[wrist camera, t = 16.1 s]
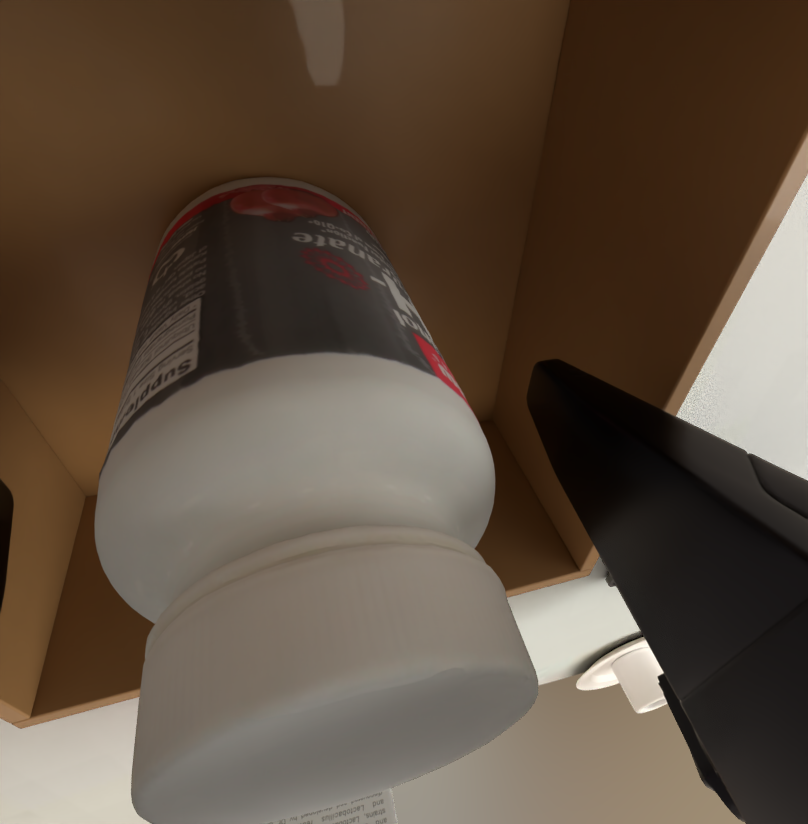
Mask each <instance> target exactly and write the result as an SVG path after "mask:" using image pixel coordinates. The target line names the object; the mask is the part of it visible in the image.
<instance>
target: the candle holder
mask: <svg viewBox="0 0 808 824" xmlns="http://www.w3.org/2000/svg"><path fill="white" fill-rule="evenodd" d="M663 673H664V672H663V671H662V669H661V667H660V665H659V663H658V661H657V660H656V658H655V656H654V654H653V652H652V651H651V649H650V647H649V645H648V643H647V641H646V640H645V638H644V637H641V638H639V639H636V640H633V641H631V642H629V643H627V644H624V645H622V646H620V647H618V648H617V649H615V650H613V651H611V652H610V653H608V654H606V655H605V656H603V657H602V658H600V659H599V660H598V661H596V662H595V663H594V664H593V665H592V666H591V667H590V668H589V669H588V670H587V671H586V672H585V673H584V674H583V675H582V676H581V677H580V678H579V679H578V681H577V683H576V687H577V688H578V689H580V690H594V689H600V688H604V687H608V686H611V685H614V684H617V683H620V685H621V686H622V689H623V690H624V692H625V694H626V696H627V698H628V700H629V701H630V703H631V705H632V707H633V709H634V710H635V712H636V713H644V712H648V711H651V710H654V709H656V708H659V707H661V706H663V705H665V704H667V701H666V699H665V697H664V695H663V691H662V689H661V688H660V686H659V684H658V683H659V680H658V677H657V676H659V675H661V674H663Z"/></svg>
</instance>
